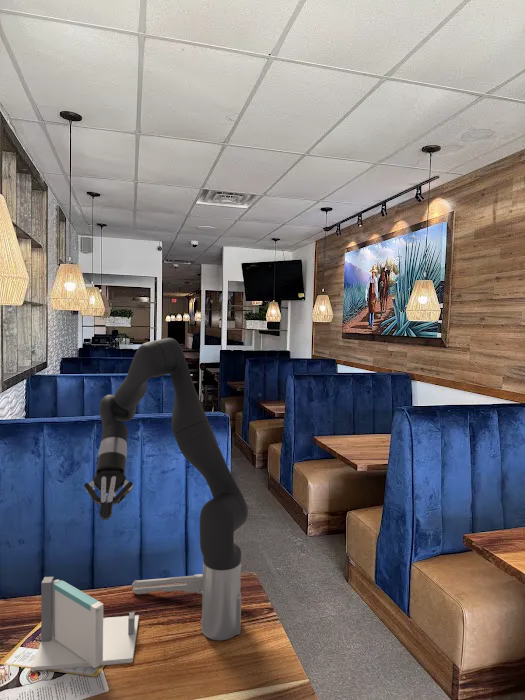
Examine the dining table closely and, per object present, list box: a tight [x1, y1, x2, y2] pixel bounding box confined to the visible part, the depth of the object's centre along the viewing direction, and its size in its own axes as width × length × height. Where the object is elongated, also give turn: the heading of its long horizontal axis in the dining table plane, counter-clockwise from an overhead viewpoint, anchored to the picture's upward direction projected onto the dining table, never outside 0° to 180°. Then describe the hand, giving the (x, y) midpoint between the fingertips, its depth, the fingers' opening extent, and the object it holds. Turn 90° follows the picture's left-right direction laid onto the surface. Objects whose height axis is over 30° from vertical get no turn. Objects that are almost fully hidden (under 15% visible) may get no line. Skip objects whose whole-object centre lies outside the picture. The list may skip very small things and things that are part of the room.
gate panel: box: [53, 579, 104, 669], centre depth 104 cm, size 16×2×13 cm, turn 56°
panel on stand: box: [29, 576, 140, 672], centre depth 108 cm, size 21×15×15 cm
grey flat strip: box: [131, 573, 242, 595], centre depth 127 cm, size 2×30×8 cm, turn 83°
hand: (105, 518), depth 120 cm, fingers closed
